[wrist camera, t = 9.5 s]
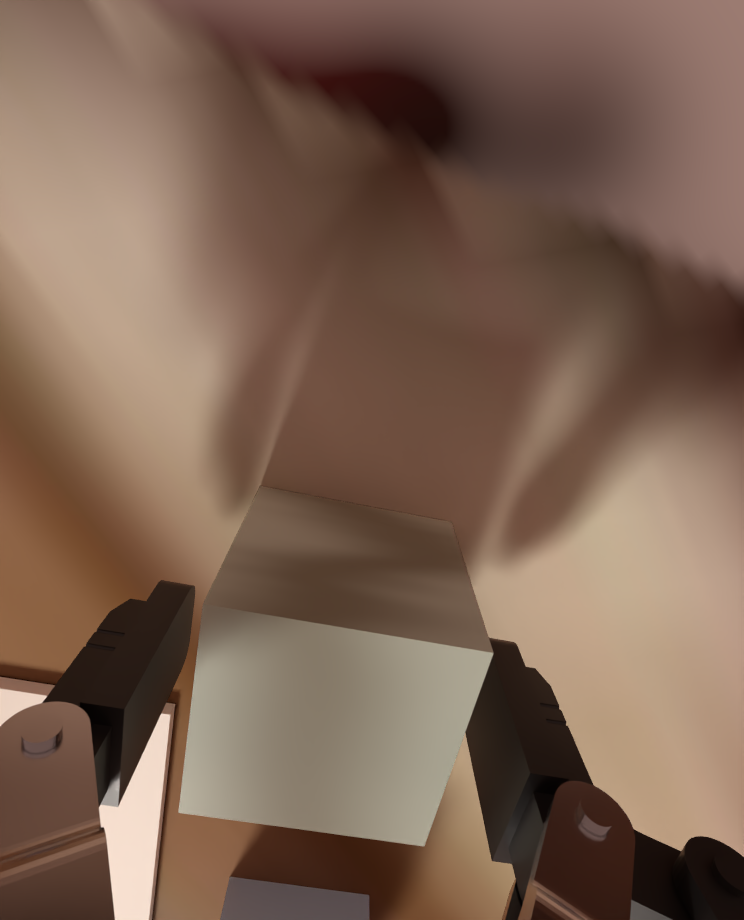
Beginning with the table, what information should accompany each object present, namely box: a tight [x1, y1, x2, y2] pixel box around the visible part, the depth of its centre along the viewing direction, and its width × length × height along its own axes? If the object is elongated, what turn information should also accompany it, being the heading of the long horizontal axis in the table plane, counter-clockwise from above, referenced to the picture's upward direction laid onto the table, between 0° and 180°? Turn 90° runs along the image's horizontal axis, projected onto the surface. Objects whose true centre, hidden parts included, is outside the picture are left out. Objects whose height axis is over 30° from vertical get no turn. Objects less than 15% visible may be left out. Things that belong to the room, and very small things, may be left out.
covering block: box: [178, 486, 493, 846], centre depth 12 cm, size 5×5×5 cm
